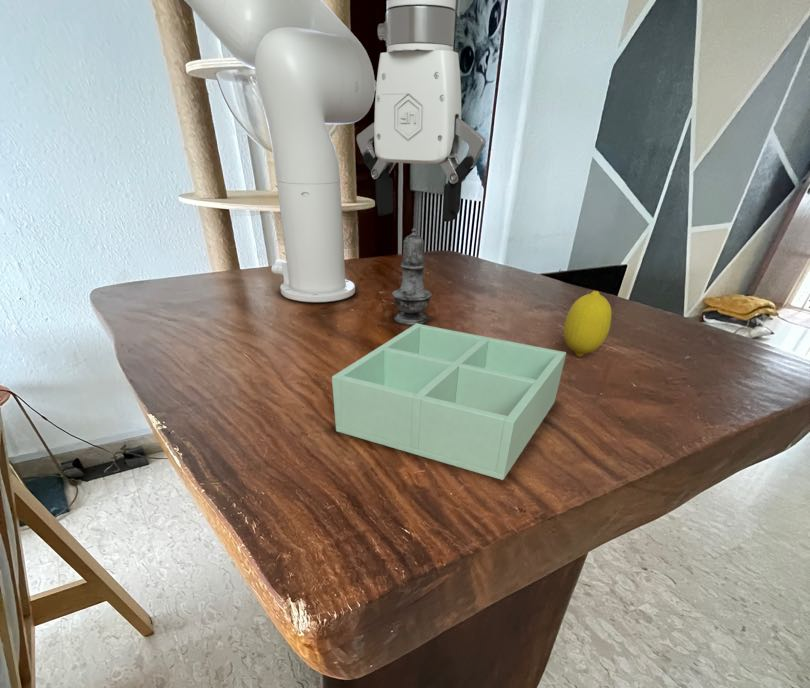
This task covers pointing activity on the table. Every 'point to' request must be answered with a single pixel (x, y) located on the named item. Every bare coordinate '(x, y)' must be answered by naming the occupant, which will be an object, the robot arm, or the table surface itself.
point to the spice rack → (449, 397)
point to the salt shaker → (412, 283)
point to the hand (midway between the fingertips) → (416, 217)
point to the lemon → (587, 323)
